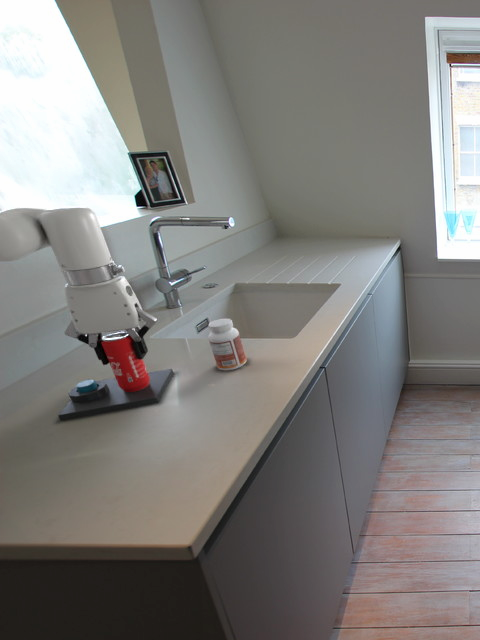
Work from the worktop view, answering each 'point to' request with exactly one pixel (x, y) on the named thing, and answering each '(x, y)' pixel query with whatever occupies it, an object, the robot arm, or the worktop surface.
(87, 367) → the worktop surface
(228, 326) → the pill bottle
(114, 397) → the scale
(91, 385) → the tare button
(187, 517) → the worktop surface
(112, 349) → the beverage can
